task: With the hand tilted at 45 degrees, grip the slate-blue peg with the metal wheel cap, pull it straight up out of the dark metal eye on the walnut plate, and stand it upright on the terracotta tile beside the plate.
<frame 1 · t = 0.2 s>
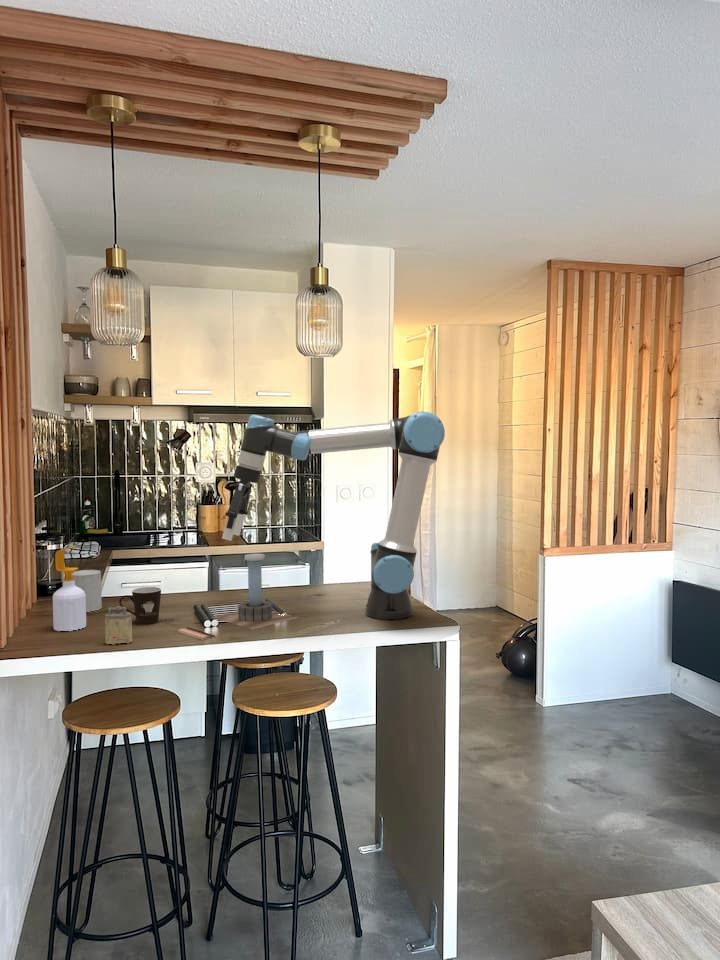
hand: (230, 537, 207), 27 cm above the table, tool tilted 15°, fingers open, 13 cm apart
beige rectangular bottle: (118, 643, 194), on the table
tile: (207, 631, 205), on the table
eye plate: (255, 622, 215), on the table
coffee mug: (142, 622, 216), on the table
soap bottle: (70, 628, 209), on the table
peg: (255, 617, 215), point 1 cm above the table, touching eye plate
grey tapered cup: (86, 610, 232), on the table
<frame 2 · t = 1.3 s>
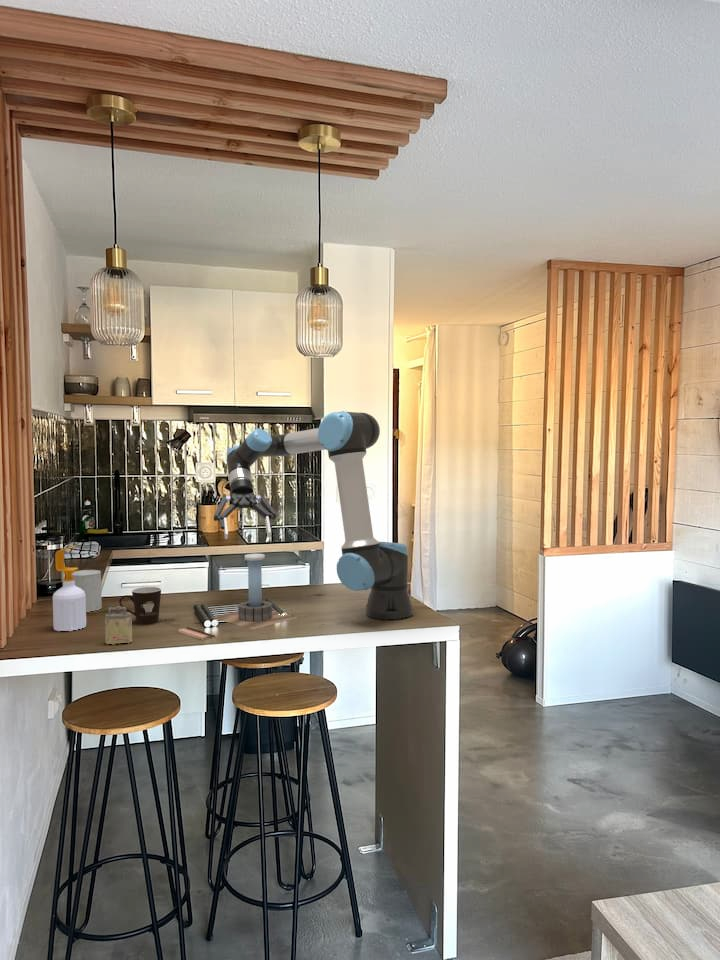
hand: (248, 535, 224), 25 cm above the table, tool tilted 45°, fingers open, 13 cm apart
nothing on the table moved.
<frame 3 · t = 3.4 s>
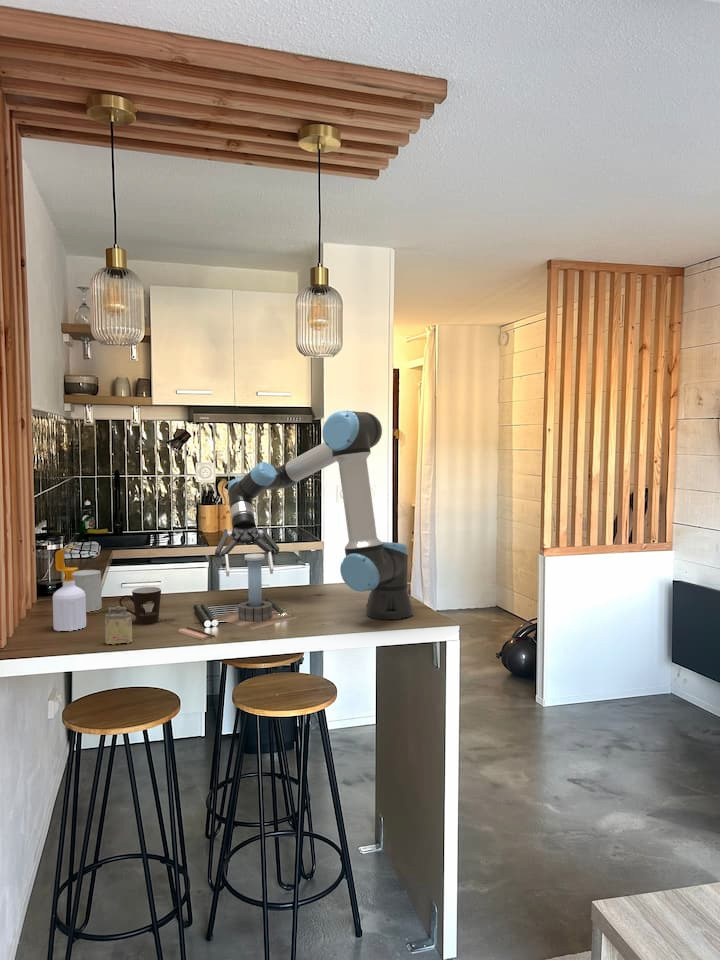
hand: (250, 572, 218), 15 cm above the table, tool tilted 45°, fingers open, 13 cm apart
nothing on the table moved.
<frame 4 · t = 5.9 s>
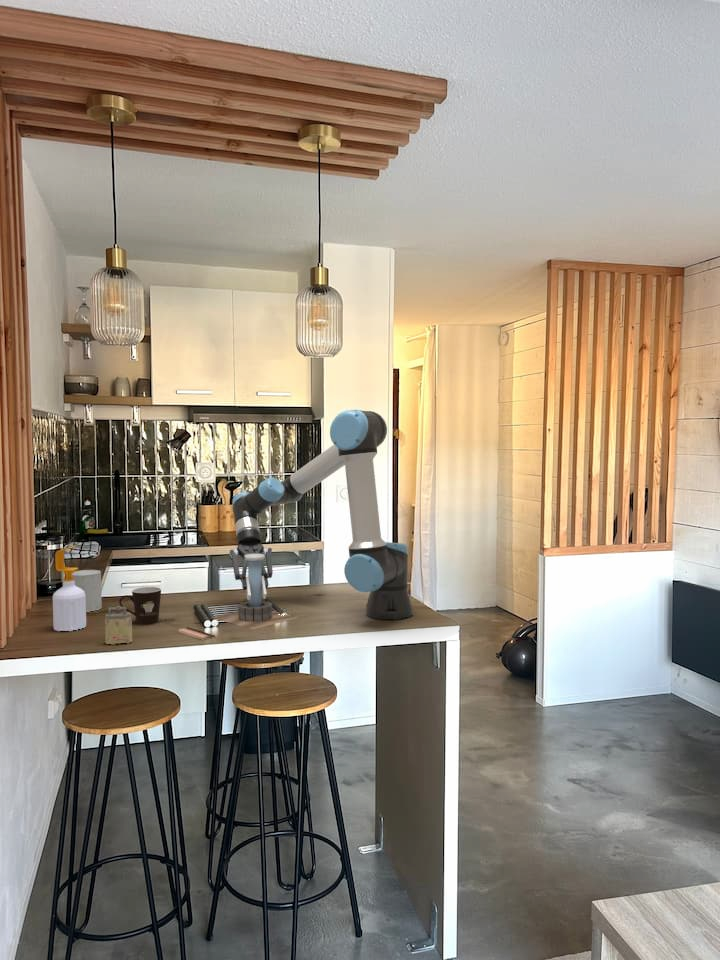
hand: (257, 596, 211), 9 cm above the table, tool tilted 45°, fingers closed on peg, 4 cm apart
peg: (255, 617, 215), point 2 cm above the table, touching eye plate, gripper
everything else where it was.
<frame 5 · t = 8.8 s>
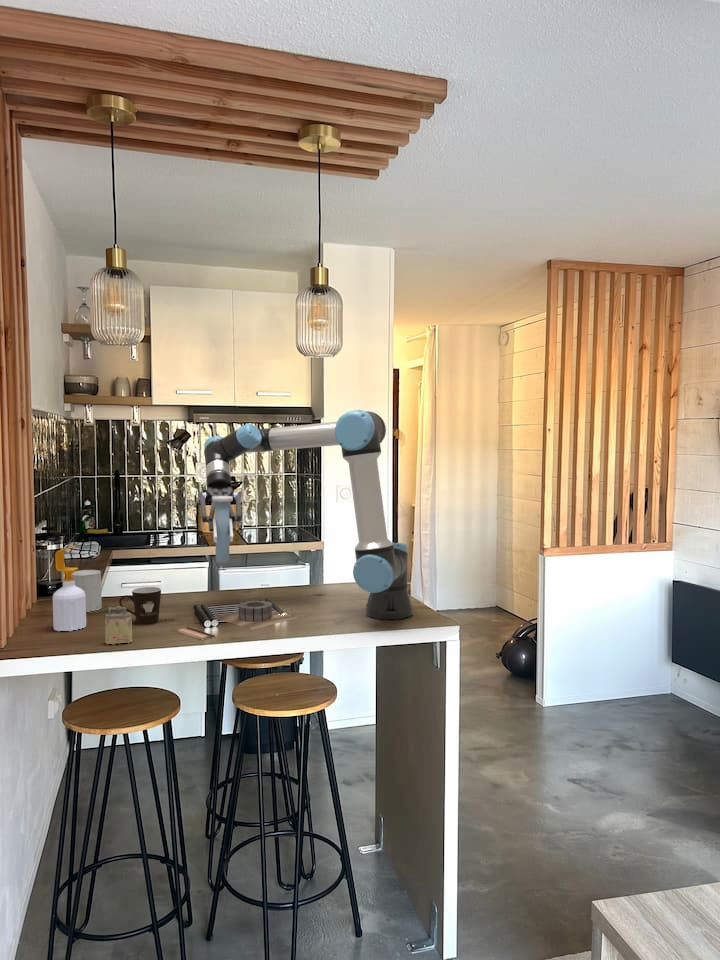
hand: (223, 539, 204), 27 cm above the table, tool tilted 45°, fingers closed on peg, 4 cm apart
peg: (222, 561, 209), point 20 cm above the table, touching gripper
everything else where it was.
when the fingers open (10 cm above the table, at t = 11.9 s): peg drops 2 cm, resting on tile.
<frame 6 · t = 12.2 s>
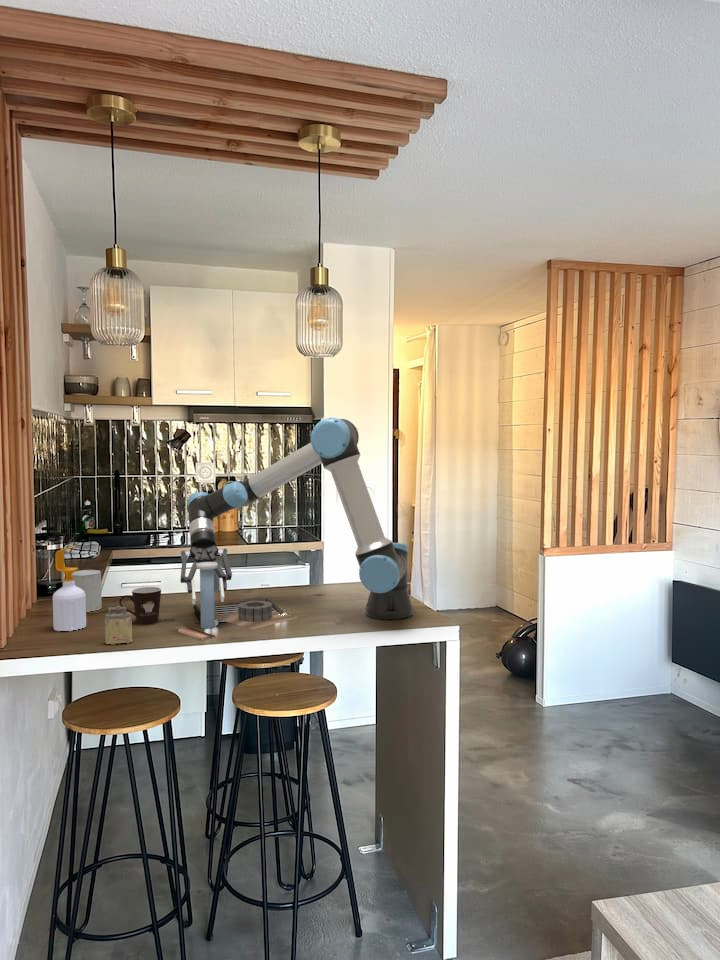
hand: (208, 600, 201), 10 cm above the table, tool tilted 45°, fingers open, 7 cm apart
peg: (207, 629, 205), point 1 cm above the table, touching tile
everything else where it was.
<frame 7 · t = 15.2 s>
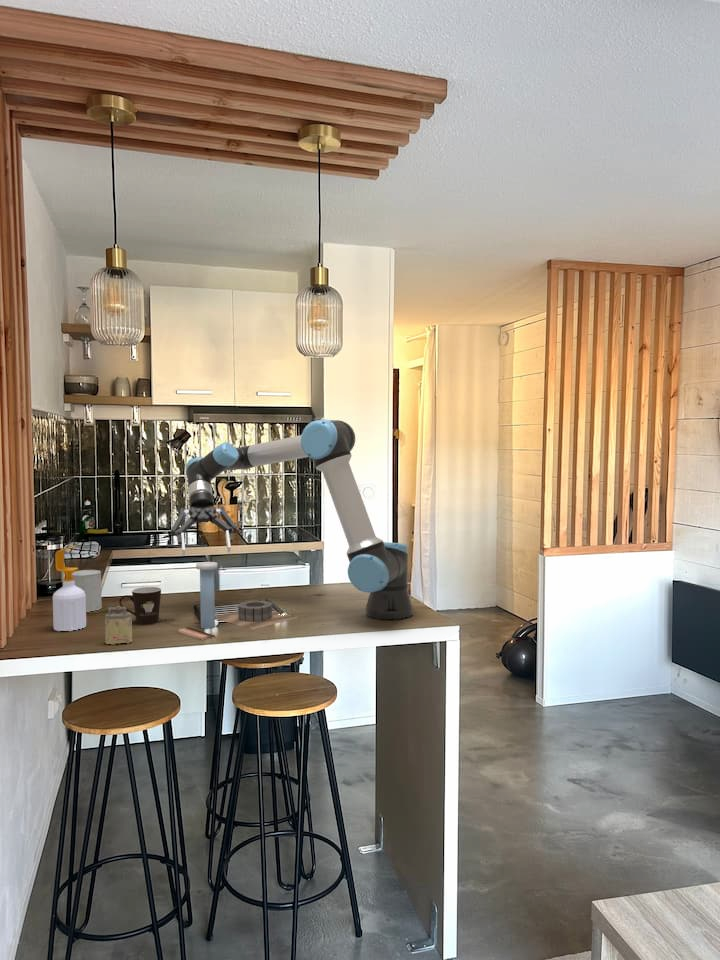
hand: (206, 551, 215), 22 cm above the table, tool tilted 45°, fingers open, 13 cm apart
nothing on the table moved.
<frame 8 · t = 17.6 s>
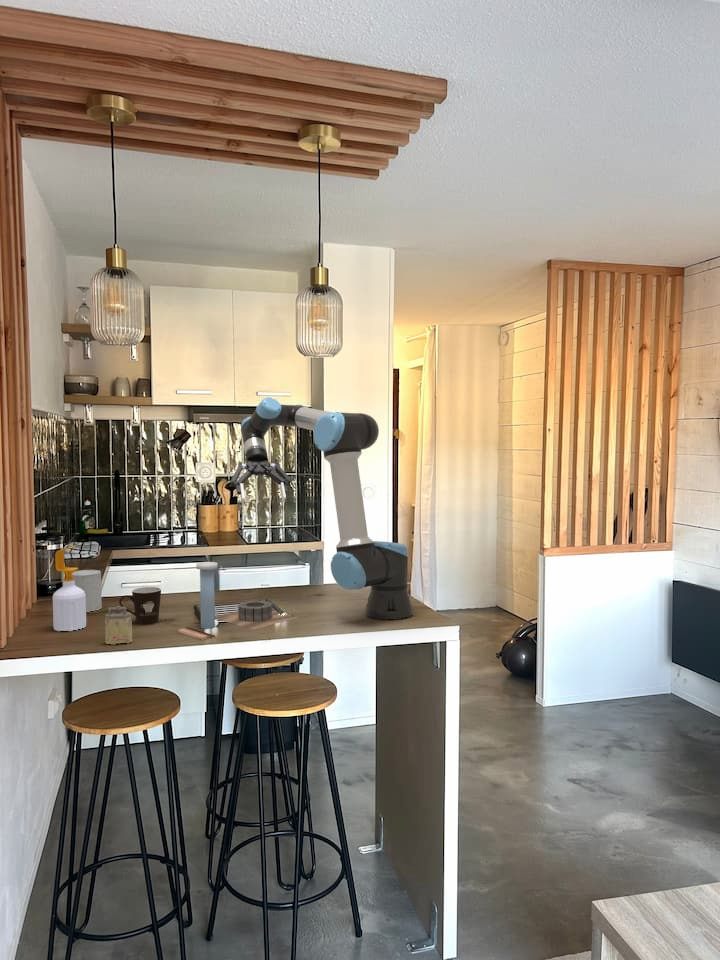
hand: (263, 500, 231), 36 cm above the table, tool tilted 45°, fingers open, 13 cm apart
nothing on the table moved.
at the end: peg inside the target area on the tile (0.1 cm from its centre), point 0.8 cm above the tile's base; peg tilted 0°; the gripper is holding nothing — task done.
